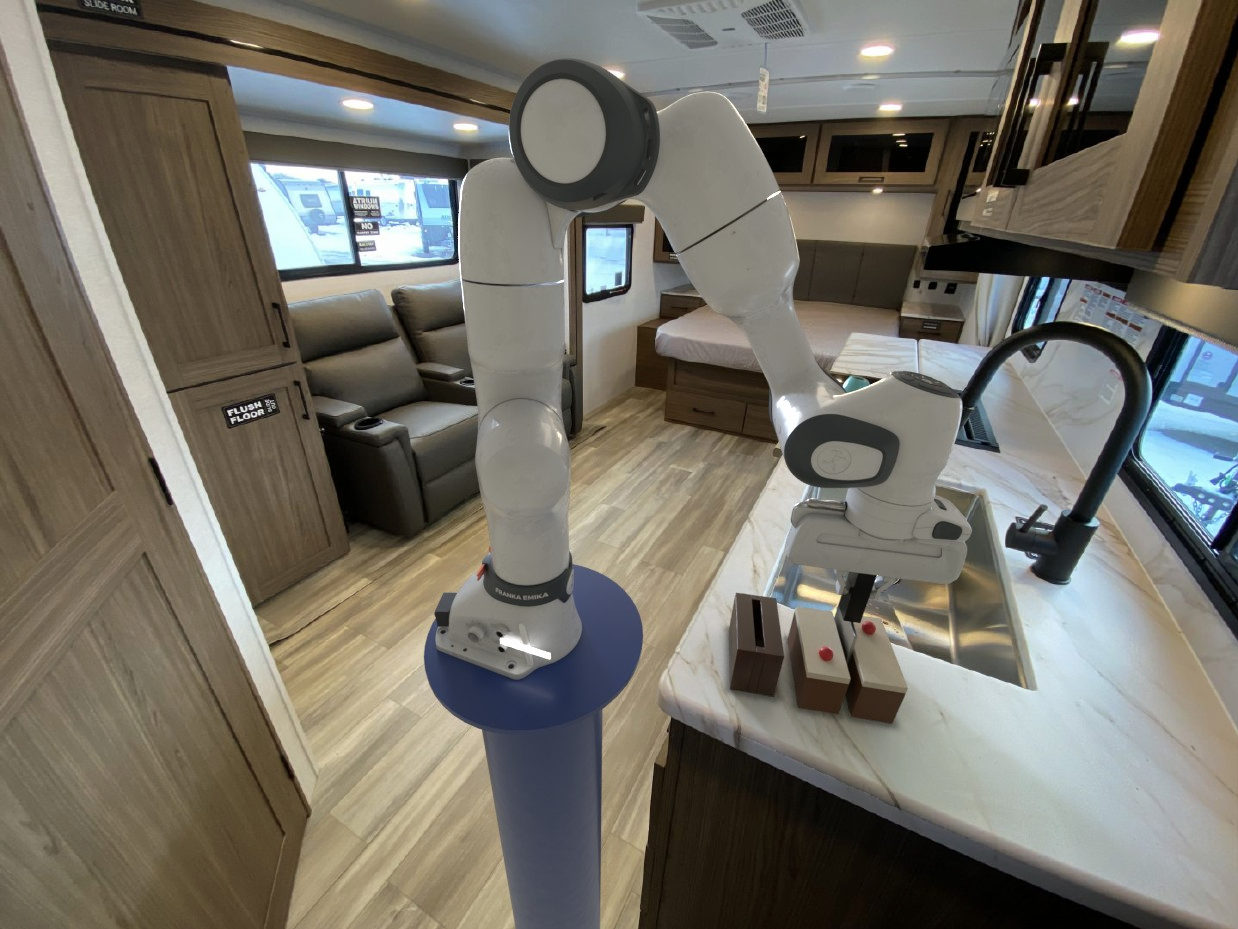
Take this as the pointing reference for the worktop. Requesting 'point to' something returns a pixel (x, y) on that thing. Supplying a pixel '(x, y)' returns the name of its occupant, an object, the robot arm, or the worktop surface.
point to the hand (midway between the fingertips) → (856, 594)
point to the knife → (853, 610)
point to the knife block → (755, 645)
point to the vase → (855, 383)
